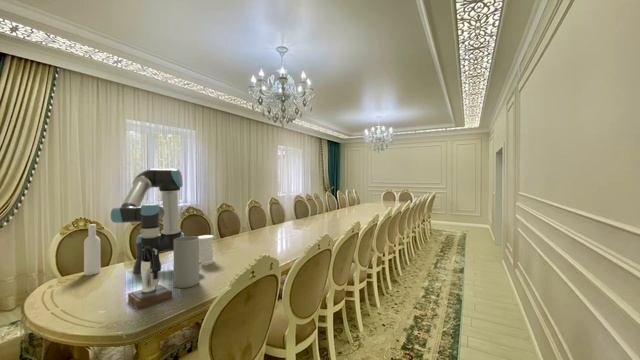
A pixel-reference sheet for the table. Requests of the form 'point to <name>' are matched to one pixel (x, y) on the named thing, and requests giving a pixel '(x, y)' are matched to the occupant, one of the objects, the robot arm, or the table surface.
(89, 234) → the bottle
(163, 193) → the robot arm
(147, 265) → the beer glass
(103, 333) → the table surface
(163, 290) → the walnut stand
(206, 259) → the decorative container
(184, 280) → the cylinder vase
